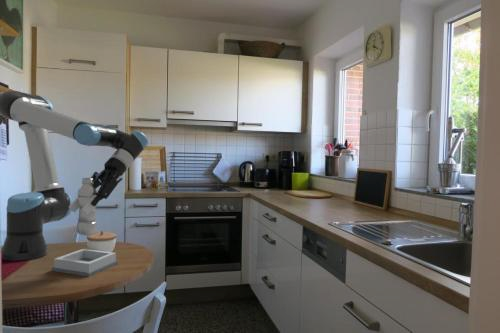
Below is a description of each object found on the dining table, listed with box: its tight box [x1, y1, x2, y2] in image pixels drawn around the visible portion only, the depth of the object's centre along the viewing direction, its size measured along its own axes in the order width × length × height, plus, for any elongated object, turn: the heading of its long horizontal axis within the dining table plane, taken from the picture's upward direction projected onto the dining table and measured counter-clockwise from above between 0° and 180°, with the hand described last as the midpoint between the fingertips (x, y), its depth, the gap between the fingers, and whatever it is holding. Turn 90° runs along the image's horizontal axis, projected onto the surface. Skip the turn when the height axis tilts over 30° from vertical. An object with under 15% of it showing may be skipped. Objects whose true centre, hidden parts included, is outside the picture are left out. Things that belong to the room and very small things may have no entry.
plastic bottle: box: [76, 177, 98, 236], centre depth 123 cm, size 6×7×20 cm
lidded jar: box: [86, 230, 117, 252], centre depth 139 cm, size 11×11×9 cm
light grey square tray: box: [51, 248, 119, 277], centre depth 124 cm, size 15×15×4 cm
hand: (78, 210), depth 120 cm, fingers closed on plastic bottle, 6 cm apart
